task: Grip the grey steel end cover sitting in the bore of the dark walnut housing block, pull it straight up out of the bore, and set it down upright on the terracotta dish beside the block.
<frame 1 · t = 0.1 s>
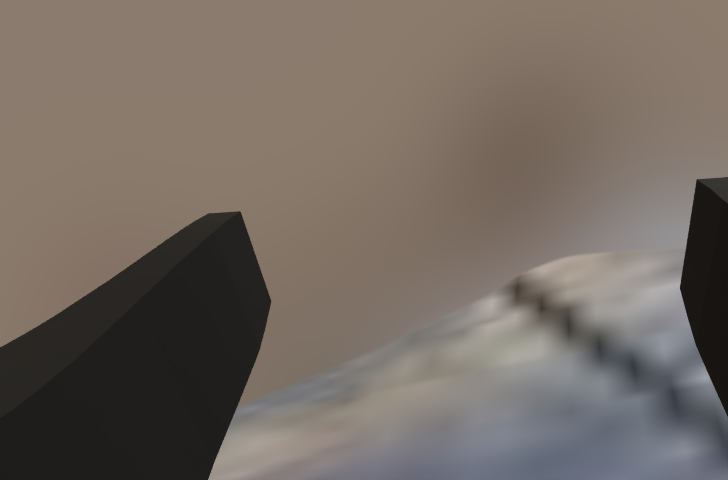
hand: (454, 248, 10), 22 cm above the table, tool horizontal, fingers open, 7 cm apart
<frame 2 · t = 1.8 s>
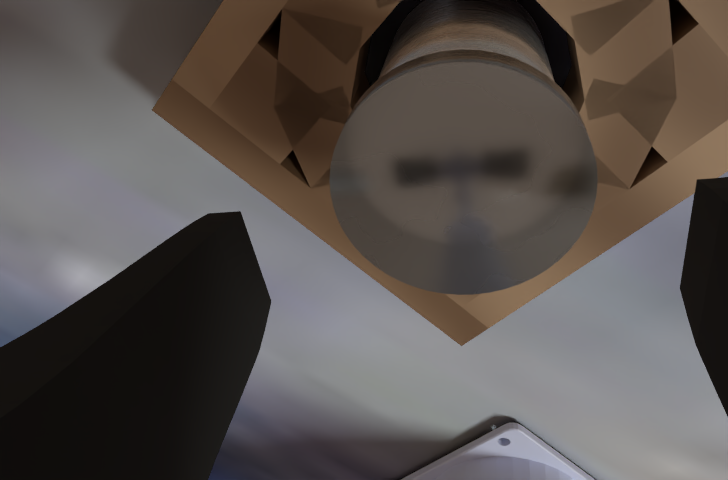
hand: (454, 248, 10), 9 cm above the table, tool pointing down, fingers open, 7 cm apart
end cover: (462, 118, 14), in the housing
housing: (465, 68, 17), on the table
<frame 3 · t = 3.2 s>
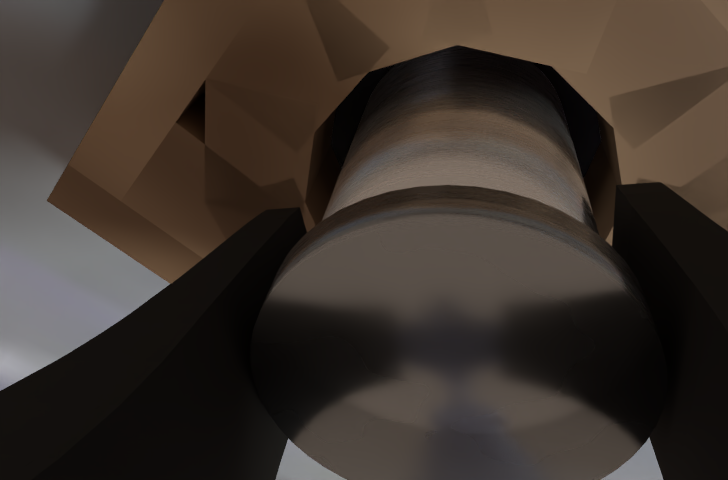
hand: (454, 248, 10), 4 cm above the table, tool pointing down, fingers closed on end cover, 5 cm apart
end cover: (455, 233, 10), in the housing, touching gripper
housing: (460, 142, 13), on the table
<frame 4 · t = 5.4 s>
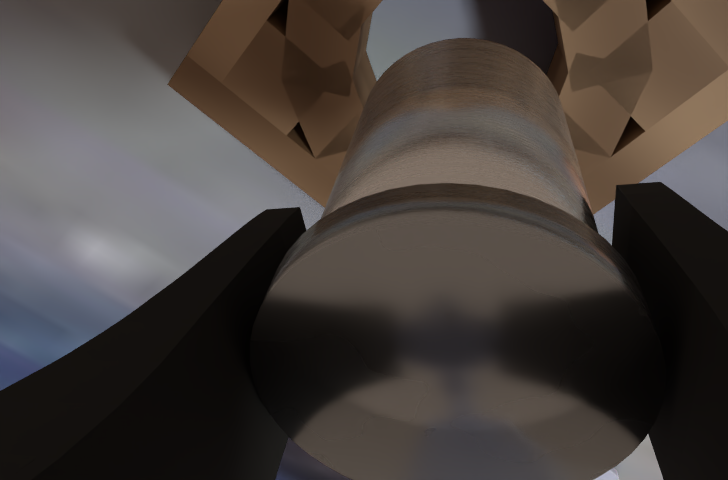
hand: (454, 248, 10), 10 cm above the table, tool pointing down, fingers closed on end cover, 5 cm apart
end cover: (454, 230, 10), point 10 cm above the table, touching gripper
housing: (459, 46, 18), on the table
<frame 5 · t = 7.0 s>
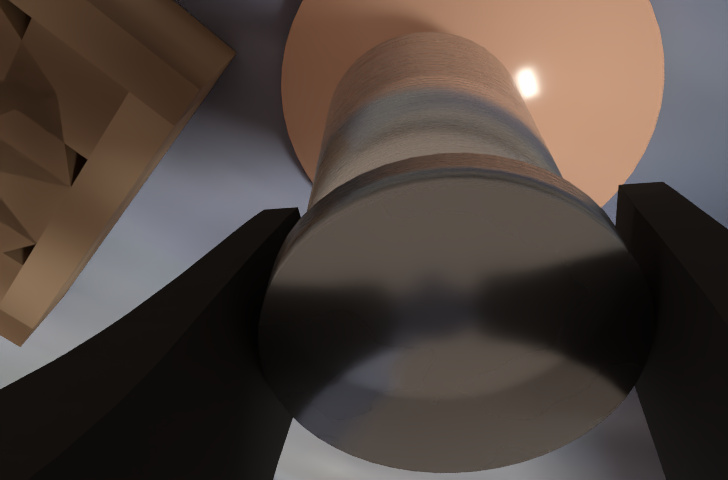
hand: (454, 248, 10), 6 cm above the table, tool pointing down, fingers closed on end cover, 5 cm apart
end cover: (433, 212, 11), point 5 cm above the table, tilted 7°, touching gripper
dish: (462, 100, 15), on the table
when the fingers open (6 cm above the table, at t = 8.1 s): end cover stays where it is, resting on dish.
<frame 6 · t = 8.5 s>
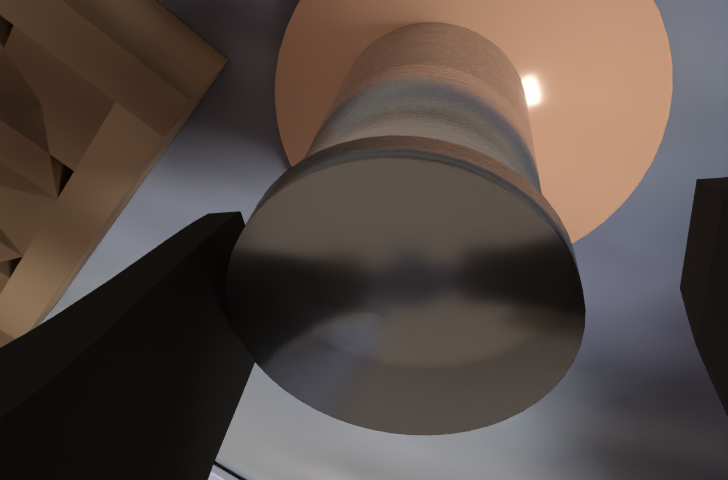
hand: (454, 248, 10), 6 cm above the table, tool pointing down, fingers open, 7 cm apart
end cover: (418, 194, 11), on the dish, point 4 cm above the table
dish: (462, 109, 14), on the table
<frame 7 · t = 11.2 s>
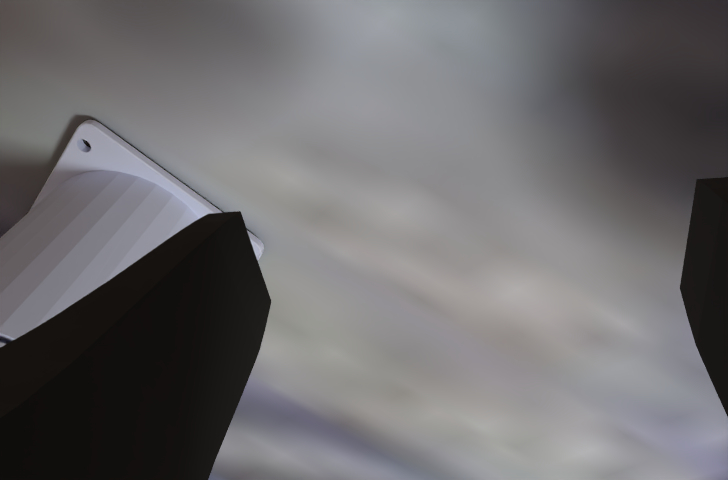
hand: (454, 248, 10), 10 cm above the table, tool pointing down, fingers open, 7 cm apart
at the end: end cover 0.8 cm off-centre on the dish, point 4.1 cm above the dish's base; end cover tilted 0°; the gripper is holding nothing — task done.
